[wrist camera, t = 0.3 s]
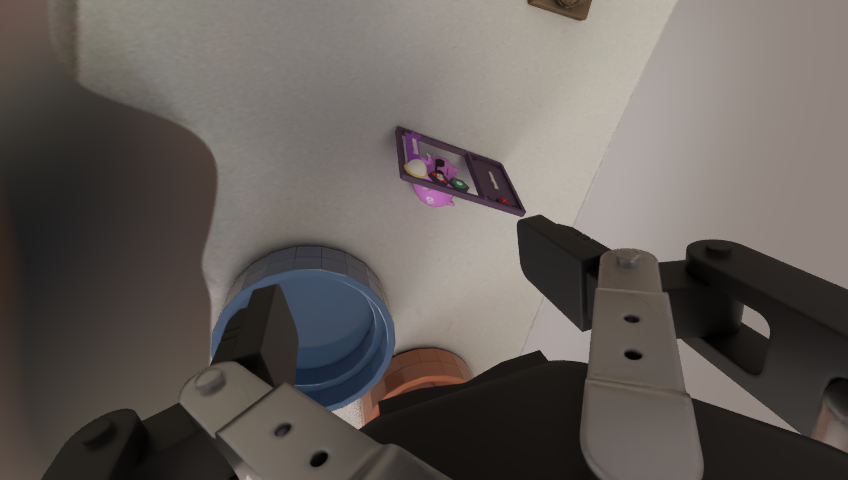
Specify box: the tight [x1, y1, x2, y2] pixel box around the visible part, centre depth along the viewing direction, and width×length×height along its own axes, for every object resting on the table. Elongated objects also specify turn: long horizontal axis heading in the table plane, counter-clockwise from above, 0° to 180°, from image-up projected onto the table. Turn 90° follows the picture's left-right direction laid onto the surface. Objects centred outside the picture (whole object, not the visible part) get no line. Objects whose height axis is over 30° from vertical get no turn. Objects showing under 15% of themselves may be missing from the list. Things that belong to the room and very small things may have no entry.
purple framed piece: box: [395, 127, 526, 217], centre depth 29 cm, size 7×5×9 cm
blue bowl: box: [211, 246, 395, 411], centre depth 31 cm, size 13×13×4 cm
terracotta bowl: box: [360, 348, 474, 427], centre depth 37 cm, size 11×11×4 cm
